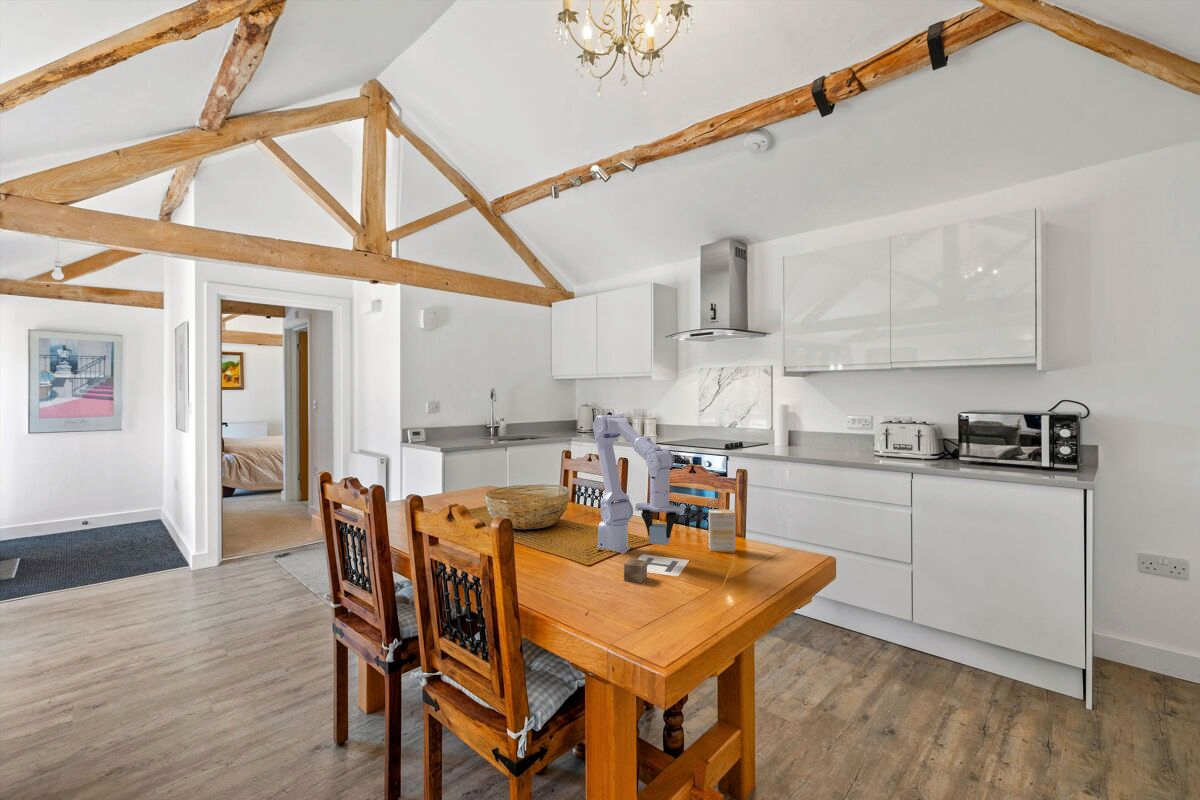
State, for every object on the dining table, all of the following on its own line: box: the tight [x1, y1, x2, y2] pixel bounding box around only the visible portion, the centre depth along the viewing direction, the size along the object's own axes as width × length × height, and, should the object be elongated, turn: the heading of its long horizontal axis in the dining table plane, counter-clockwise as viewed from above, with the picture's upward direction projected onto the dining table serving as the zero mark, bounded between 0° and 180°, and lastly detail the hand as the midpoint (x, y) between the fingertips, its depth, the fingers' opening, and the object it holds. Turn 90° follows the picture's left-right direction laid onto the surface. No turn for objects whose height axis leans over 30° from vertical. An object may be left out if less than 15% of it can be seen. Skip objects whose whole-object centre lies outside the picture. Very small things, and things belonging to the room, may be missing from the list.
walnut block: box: [623, 558, 648, 584], centre depth 151 cm, size 5×5×5 cm
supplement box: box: [708, 509, 737, 554], centre depth 177 cm, size 8×5×13 cm, turn 84°
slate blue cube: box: [648, 522, 671, 546], centre depth 163 cm, size 5×5×5 cm
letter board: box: [636, 553, 690, 577], centre depth 163 cm, size 15×15×1 cm
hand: (659, 536), depth 162 cm, fingers closed on slate blue cube, 5 cm apart
